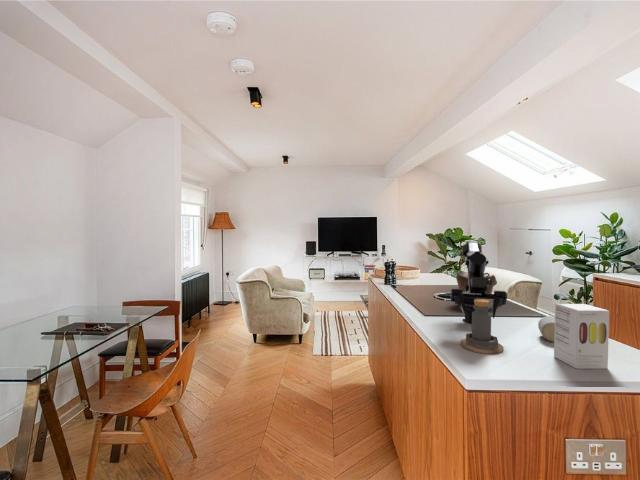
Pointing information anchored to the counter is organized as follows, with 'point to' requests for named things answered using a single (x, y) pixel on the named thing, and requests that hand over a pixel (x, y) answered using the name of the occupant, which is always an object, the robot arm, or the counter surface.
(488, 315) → the bottle
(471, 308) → the robot arm
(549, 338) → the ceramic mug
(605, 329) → the supplement box
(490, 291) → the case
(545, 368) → the counter surface
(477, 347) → the ring coaster
